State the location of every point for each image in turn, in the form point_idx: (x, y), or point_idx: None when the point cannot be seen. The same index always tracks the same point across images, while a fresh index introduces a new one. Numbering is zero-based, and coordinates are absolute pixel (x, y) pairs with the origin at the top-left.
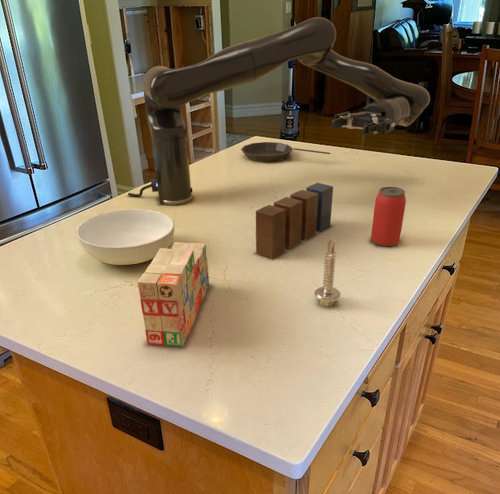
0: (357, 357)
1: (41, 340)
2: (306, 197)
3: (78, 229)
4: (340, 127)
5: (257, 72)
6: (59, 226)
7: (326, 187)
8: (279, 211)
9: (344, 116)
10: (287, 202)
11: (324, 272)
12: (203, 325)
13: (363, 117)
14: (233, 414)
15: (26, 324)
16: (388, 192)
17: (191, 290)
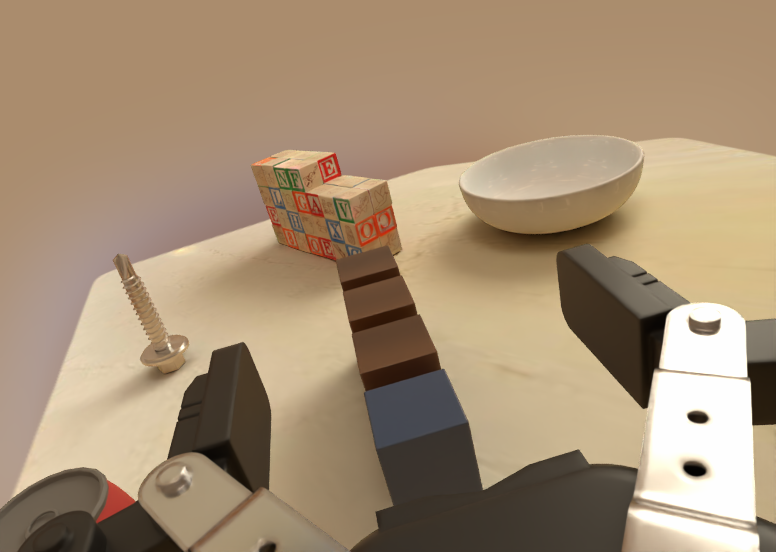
0: (81, 345)
1: (395, 181)
2: (362, 336)
3: (571, 136)
4: (621, 381)
5: None
6: (753, 157)
7: (386, 420)
8: (342, 271)
9: (699, 343)
10: (374, 294)
11: (153, 307)
12: (291, 257)
13: (528, 536)
14: (170, 258)
15: (434, 173)
16: (61, 506)
17: (293, 210)
